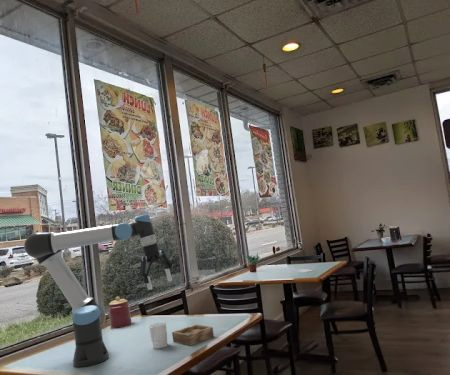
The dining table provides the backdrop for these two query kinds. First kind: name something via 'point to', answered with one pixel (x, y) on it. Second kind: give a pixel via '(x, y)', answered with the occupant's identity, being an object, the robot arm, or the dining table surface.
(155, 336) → the white cup
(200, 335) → the brown wooden tray
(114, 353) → the dining table surface
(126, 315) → the canister
